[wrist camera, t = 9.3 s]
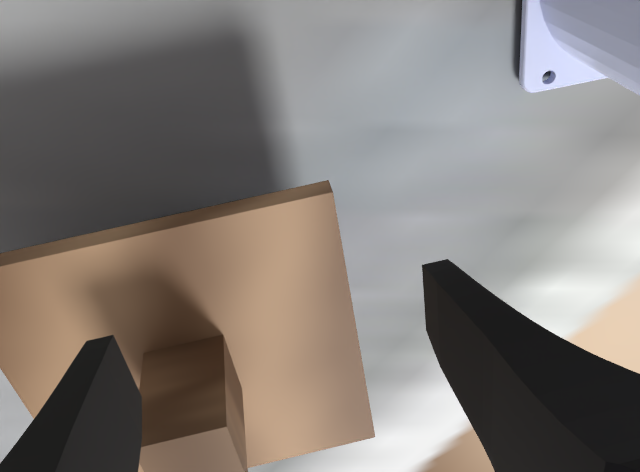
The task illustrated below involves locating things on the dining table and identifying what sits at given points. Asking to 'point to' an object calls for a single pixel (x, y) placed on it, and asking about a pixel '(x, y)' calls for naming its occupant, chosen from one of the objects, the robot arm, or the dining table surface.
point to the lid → (202, 328)
